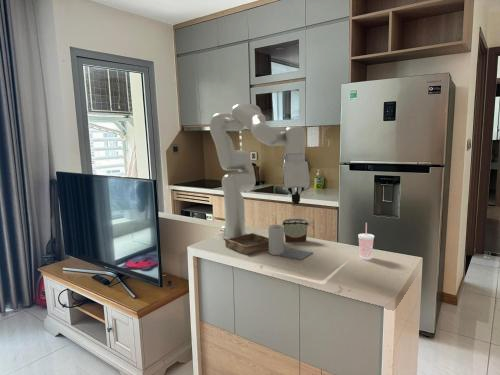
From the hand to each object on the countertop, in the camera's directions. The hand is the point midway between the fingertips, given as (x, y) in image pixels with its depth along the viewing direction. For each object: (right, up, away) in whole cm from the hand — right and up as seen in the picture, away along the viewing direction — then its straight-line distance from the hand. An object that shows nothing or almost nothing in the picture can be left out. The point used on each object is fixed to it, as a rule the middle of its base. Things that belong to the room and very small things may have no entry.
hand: (295, 203), depth 144 cm
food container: (+3, -19, +23) cm, 30 cm away
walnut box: (-19, -20, +15) cm, 31 cm away
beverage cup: (+27, -21, -3) cm, 35 cm away
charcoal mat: (+1, -21, +3) cm, 21 cm away
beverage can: (-7, -22, +6) cm, 23 cm away
